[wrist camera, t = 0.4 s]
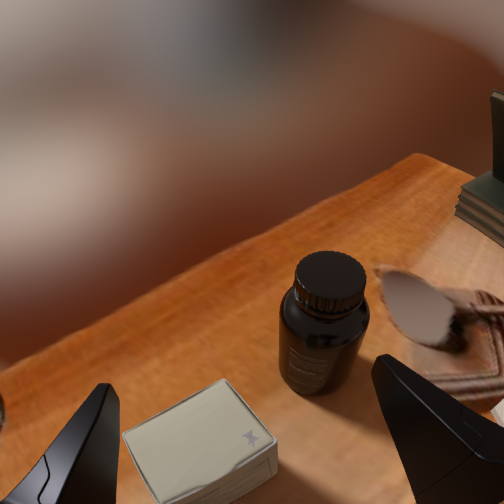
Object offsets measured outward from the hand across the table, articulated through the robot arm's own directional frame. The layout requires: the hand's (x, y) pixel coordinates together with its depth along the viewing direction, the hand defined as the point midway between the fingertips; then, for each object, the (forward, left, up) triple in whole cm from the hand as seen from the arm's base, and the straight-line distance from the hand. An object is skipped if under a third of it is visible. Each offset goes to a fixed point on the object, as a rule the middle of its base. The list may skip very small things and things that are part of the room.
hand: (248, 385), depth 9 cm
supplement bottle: (+8, -7, -17) cm, 20 cm away
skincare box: (0, +3, -17) cm, 17 cm away
